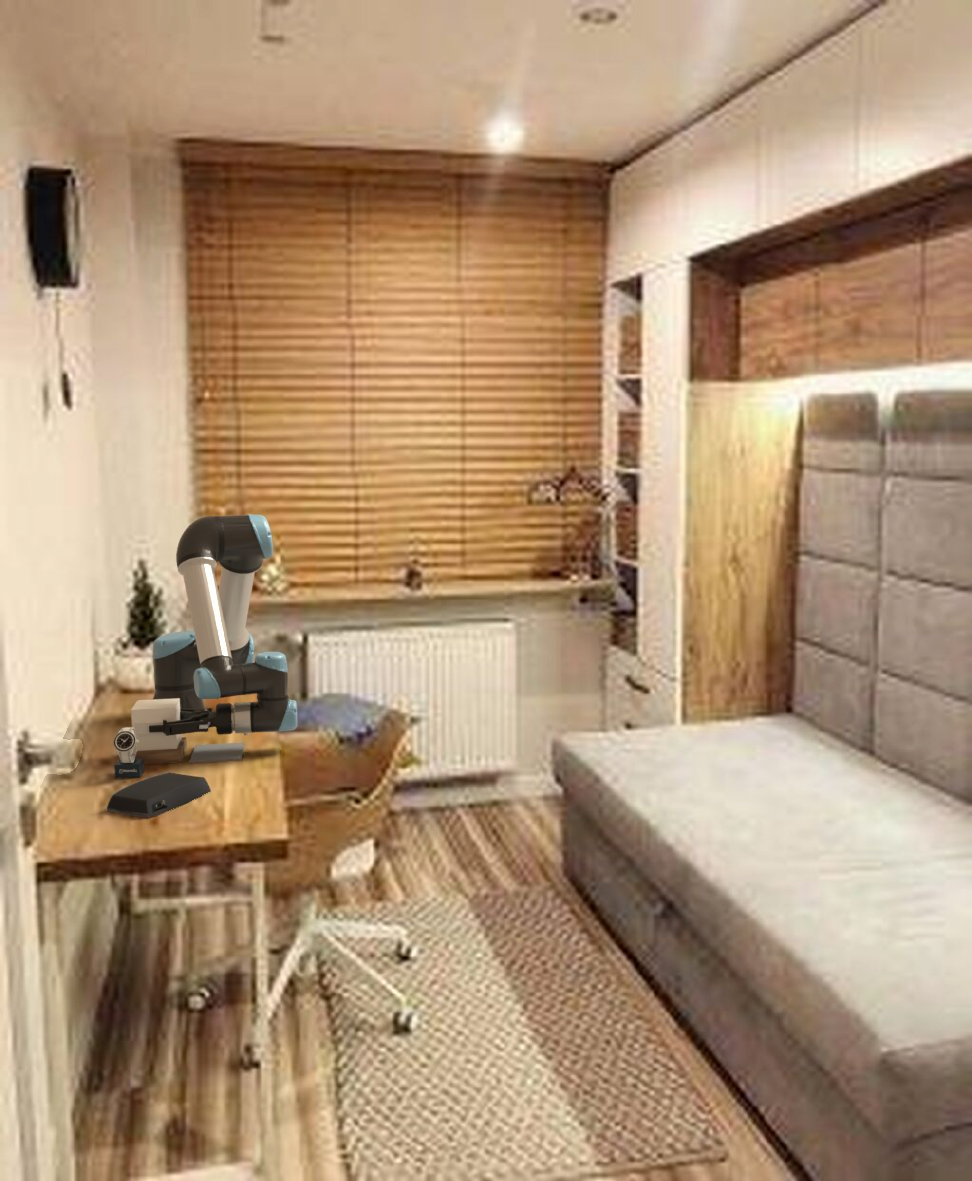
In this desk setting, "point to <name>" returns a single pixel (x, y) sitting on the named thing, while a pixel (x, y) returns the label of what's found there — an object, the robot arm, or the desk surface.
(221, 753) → the mat
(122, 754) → the watch
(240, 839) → the desk surface
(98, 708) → the desk surface
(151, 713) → the off-white rounded cube
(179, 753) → the brown stepped block
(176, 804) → the external hard drive
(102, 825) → the desk surface
